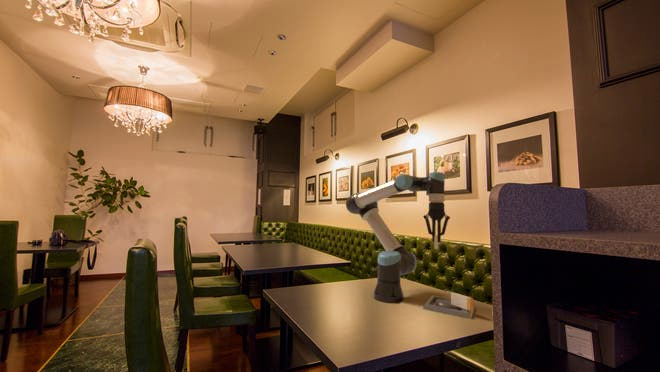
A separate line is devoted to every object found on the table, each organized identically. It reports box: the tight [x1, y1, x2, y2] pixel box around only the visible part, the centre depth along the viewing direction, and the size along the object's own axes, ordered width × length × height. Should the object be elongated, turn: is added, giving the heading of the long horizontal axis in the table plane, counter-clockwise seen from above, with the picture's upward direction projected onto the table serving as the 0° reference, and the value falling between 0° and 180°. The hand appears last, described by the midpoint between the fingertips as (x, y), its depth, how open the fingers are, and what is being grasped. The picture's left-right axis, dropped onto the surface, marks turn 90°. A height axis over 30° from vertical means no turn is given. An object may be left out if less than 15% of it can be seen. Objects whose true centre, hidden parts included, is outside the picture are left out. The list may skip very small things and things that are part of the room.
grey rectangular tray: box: [421, 295, 475, 320], centre depth 131 cm, size 20×18×3 cm
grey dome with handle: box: [436, 292, 474, 311], centre depth 129 cm, size 17×11×7 cm, turn 29°
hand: (436, 248), depth 145 cm, fingers closed
